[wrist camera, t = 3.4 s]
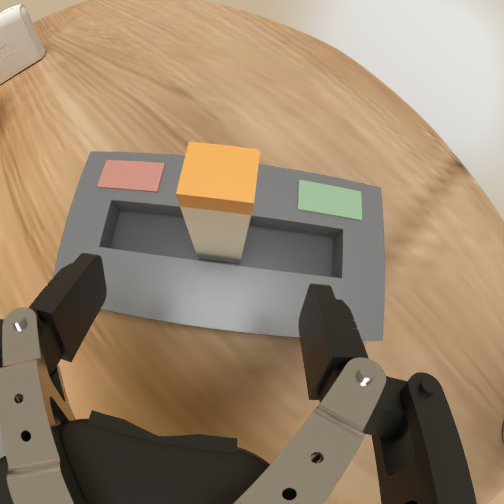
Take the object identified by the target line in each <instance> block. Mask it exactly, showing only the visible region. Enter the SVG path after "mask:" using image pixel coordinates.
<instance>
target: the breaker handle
mask: <svg viewBox="0 0 504 504" xmlns="http://www.w3.org/2000/svg"><path fill="white" fill-rule="evenodd" d="M259 157H260V150H258V149H251V148H243V147H235V146H227V145H218V144H208V143H197V142H189V144H188V148H187V152H186V155H185V159H184V163H183V167H182V171H181V175H180V179H179V183H178V187H177V192H176V196H177V199H178V202H179V205H180V208H181V211H182V214H183V217H184V220H185V223H186V226H187V228H188V231H189V234H190V237H191V240H192V243H193V246H194V249H195V251H196V254H197V257H198V258H200V259H207V260H215V261H223V262H230V263H238V264H240V261H241V257H242V252H243V248H244V244H245V240H246V235H247V231H248V227H249V222H250V218H251V214H252V210H253V206H254V199H255V191H256V182H257V174H258V165H259Z"/></svg>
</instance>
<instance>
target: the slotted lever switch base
mask: <svg viewBox="0 0 504 504" xmlns="http://www.w3.org/2000/svg"><path fill="white" fill-rule="evenodd" d="M184 159H185V156H179V155H166V154H151V153H130V152H90V155H89V157H88V159H87V162H86V165H85V167H84V170H83V173H82V175H81V178H80V181H79V184H78V186H77V189H76V192H75V195H74V198H73V201H72V205H71V208H70V211H69V214H68V218H67V221H66V225H65V228H64V232H63V236H62V240H61V244H60V248H59V252H58V256H57V261H56V265H55V270H54V275H53V277H54V276H55V275H56V274H57V273H58V271H59V270H60V269H62V268H63V267H65V266H67V265H68V264H70V263H73V262H74V261H75V260H76V259H77V258H78V257H79V255H80V254H81V253H89V254H95V255H100V256H101V258H102V262H103V268H104V275H105V281H106V287H107V295H106V299H105V302H104V304H103V306H102V307H101V309H103V310H108V311H113V312H118V313H123V314H128V315H133V316H138V317H143V318H149V319H154V320H160V321H166V322H172V323H178V324H185V325H191V326H198V327H205V328H213V329H220V330H228V331H237V332H246V333H255V334H265V335H276V336H288V337H300V336H299V329H298V324H299V316H300V313H301V309H302V306H303V303H304V300H305V297H306V294H307V290H308V287H309V285H310V284H311V283H313V284H322V285H330V286H331V287H332V290H333V293H334V295H335V298H336V299H340V300H343V301H344V302H345V304H346V305H347V306H348V307H349V308H350V309H351V312H352V315H353V317H354V321H355V323H356V325H357V329H358V331H359V333H360V336H361V339H362V340H364V341H382V336H383V320H384V296H385V248H384V223H383V208H382V195H381V188H380V187H375V186H371V185H367V184H363V183H358V182H354V181H349V180H344V179H339V178H335V177H330V176H325V175H319V174H314V173H309V172H303V171H297V170H292V169H285V168H279V167H273V166H266V165H258V174H257V182H256V191H255V199H254V206H253V210H252V214H251V218H250V222H249V227H248V231H247V235H246V240H245V244H244V248H243V252H242V257H241V261H240V264H238V263H230V262H223V261H215V260H207V259H200V258H198V257H197V254H196V251H195V249H194V246H193V243H192V240H191V237H190V234H189V231H188V228H187V226H186V223H185V220H184V217H183V214H182V211H181V208H180V205H179V202H178V199H177V196H176V192H177V187H178V183H179V179H180V175H181V171H182V167H183V163H184Z"/></svg>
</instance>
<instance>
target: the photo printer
mask: <svg viewBox="0 0 504 504" xmlns="http://www.w3.org/2000/svg"><path fill="white" fill-rule="evenodd" d="M45 53H46V50H45V48H44V46H43V44H42V42H41V40H40V38H39V36H38V33H37V31H36V29H35V27H34V25H33V22H32V20H31V18H30V16H29V14H28V11H27V10H26V8H25V6H24V5H23V4H20V5H16V6H13V7H11V8H8V9H6V10H4V11H2V12H1V13H0V84H2V83H3V82H5V81H6V80H8V79H9V78H11V77H13V76H14V75H16V74H17V73H19V72H20V71H22V70H24V69H25V68H27V67H28V66H30V65H32V64H33V63H35V62H37V61H38V60H40V59H41V58H43V56H44V55H45Z"/></svg>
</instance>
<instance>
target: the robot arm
mask: <svg viewBox="0 0 504 504" xmlns="http://www.w3.org/2000/svg"><path fill="white" fill-rule="evenodd" d="M106 295H107V287H106V281H105V275H104V268H103V262H102V258H101V256H100V255H95V254H89V253H81V254H80V255H79V257H78V258H77V259H76V260H75V261H74V262H73V263H70V264H68V265H67V266H65V267H63V268H62V269H60V270H59V271H58V273H57V274H56V275H55V276H54V277H53V279H52V280H51V281H50V282H49V283H48V286H46V287H45V288H44V289H43V290H42V292H41V293H40V294H39V295H38V297H37V298H36V299H35V300H34V302H33V303H32V304H31V305H30V307H29V308H18V309H15V310H13V311H11V312H10V313H9V314H8V315H7V316H6V317H5V319H0V427H1V433H2V439H3V444H4V449H5V454H6V456H4V457H3V458H1V459H0V504H323V503H324V502H325V501H326V499H327V498H328V496H329V495H330V493H331V492H332V490H333V489H334V487H335V486H336V484H337V483H338V481H339V480H340V478H341V477H342V475H343V473H344V472H345V470H346V468H347V467H348V465H349V463H350V462H351V460H352V458H353V457H354V455H355V453H356V451H357V450H358V448H359V446H360V444H361V442H362V440H363V438H364V436H365V434H369V435H372V440H373V446H374V452H375V458H376V465H377V471H378V479H379V486H380V494H381V503H382V504H476V498H475V494H474V489H473V485H472V480H471V476H470V472H469V468H468V465H467V461H466V457H465V454H464V450H463V447H462V444H461V440H460V437H459V434H458V431H457V428H456V425H455V422H454V419H453V416H452V413H451V410H450V408H449V405H448V402H447V400H446V397H445V394H444V392H443V389H442V387H441V385H440V383H439V382H438V381H437V379H435V378H434V377H433V376H431V375H429V374H427V373H416V374H414V375H413V376H411V378H410V379H409V380H408V382H407V381H403V380H399V379H395V378H391V377H387V376H386V375H385V372H384V370H383V369H382V367H381V366H380V365H379V364H377V363H376V362H374V361H373V360H370V359H369V358H368V356H367V353H366V350H365V347H364V344H363V342H362V339H361V336H360V333H359V331H358V329H357V325H356V323H355V321H354V317H353V315H352V312H351V309H350V308H349V307H348V306H347V305H346V304H345V302H344V301H343V300H340V299H336V298H335V295H334V293H333V290H332V287H331V286H330V285H322V284H313V283H311V284H310V285H309V287H308V290H307V294H306V297H305V300H304V303H303V306H302V309H301V313H300V316H299V324H298V329H299V336H300V342H301V348H302V355H303V361H304V368H305V374H306V381H307V388H308V395H309V400H320V404H319V406H318V407H316V409H315V410H314V411H313V413H312V414H311V415H310V417H309V418H308V419H307V421H306V422H305V423H304V425H303V426H302V427H301V428H300V430H299V431H298V432H297V434H296V435H295V436H294V437H293V439H292V440H291V441H290V442H289V444H288V445H287V446H286V447H285V448H284V450H283V451H282V452H281V453H280V454H279V455H278V457H277V458H276V459H275V460H274V461H273V462H272V464H271V465H270V464H269V463H268V462H267V461H265V460H264V459H262V458H261V457H259V456H257V455H255V454H254V453H252V452H249V451H247V450H244V449H241V448H238V447H237V438H226V437H217V436H208V435H200V434H198V435H183V436H157V435H154V434H152V433H150V432H148V431H146V430H144V429H142V428H140V427H138V426H136V425H134V424H132V423H130V422H128V421H126V420H124V419H120V418H116V417H113V416H109V415H106V414H102V413H99V412H96V411H93V410H92V412H91V415H90V417H89V419H77V420H76V419H75V417H74V415H73V413H72V410H71V408H70V405H69V402H68V398H67V395H66V391H65V387H64V384H63V380H62V376H61V371H60V368H59V366H58V363H59V361H60V359H63V360H66V361H69V362H72V360H73V358H74V356H75V354H76V352H77V350H78V349H79V347H80V345H81V343H82V341H83V339H84V337H85V336H86V334H87V332H88V330H89V328H90V326H91V325H92V323H93V321H94V319H95V318H96V316H97V314H98V312H99V311H100V309H101V307H102V306H103V304H104V302H105V299H106ZM503 442H504V427H503Z"/></svg>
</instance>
